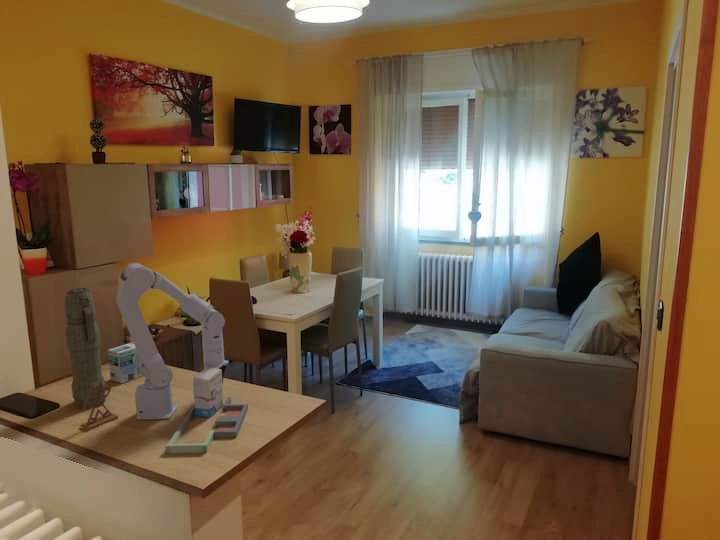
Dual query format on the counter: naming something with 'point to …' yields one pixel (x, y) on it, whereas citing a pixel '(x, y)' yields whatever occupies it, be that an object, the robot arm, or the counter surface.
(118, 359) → the light bulb box
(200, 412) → the ink box
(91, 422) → the wooden stand
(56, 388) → the counter surface
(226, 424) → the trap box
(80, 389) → the grey stone statue
